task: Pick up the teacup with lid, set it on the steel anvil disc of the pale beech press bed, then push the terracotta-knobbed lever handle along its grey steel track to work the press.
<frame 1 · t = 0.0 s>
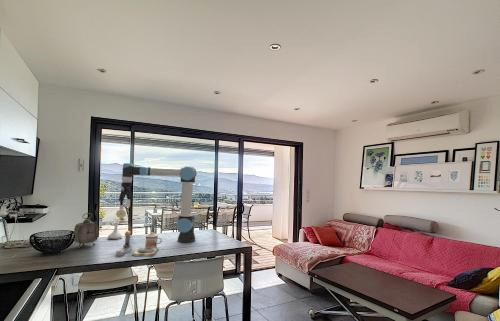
hand: (124, 208, 213), 28 cm above the table, fingers open, 13 cm apart
tabletop clock: (84, 246, 197), on the table
lever track: (124, 252, 186), on the table
teacup with lid: (153, 247, 203), on the table
lever handle: (127, 238, 192), point 9 cm above the table, slide at 0.0 cm
flower in vase: (116, 238, 225), on the table
press bed: (145, 253, 188), on the table
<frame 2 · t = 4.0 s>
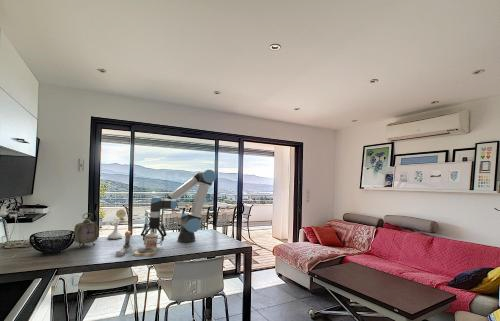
hand: (153, 245, 203), 2 cm above the table, fingers closed on teacup with lid, 12 cm apart
teacup with lid: (153, 247, 203), on the table, touching gripper
everything else where it was.
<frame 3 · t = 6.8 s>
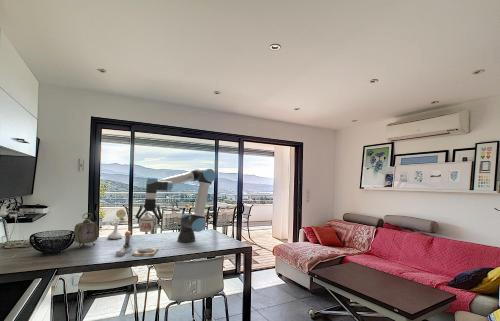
hand: (148, 228, 192), 17 cm above the table, fingers closed on teacup with lid, 12 cm apart
teacup with lid: (148, 231, 192), point 15 cm above the table, touching gripper
everything else where it was.
when the fingers open (4 cm above the table, at t = 9.9 s): teacup with lid stays where it is, resting on press bed.
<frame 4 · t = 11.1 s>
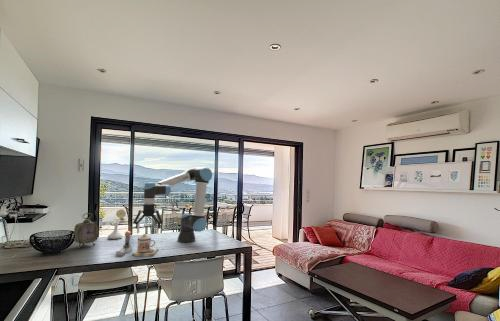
hand: (147, 233, 189), 14 cm above the table, fingers open, 13 cm apart
teacup with lid: (145, 250, 188), point 2 cm above the table, touching press bed
everything else where it was.
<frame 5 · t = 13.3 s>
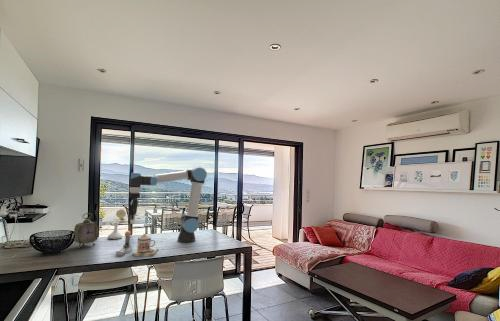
hand: (132, 223, 201), 18 cm above the table, fingers closed
nothing on the table moved.
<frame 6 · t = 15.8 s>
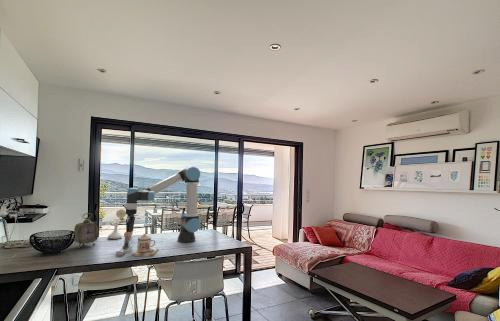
hand: (129, 240, 195), 7 cm above the table, fingers closed
lever handle: (126, 239, 190), point 9 cm above the table, slide at 1.5 cm, touching gripper
everything else where it was.
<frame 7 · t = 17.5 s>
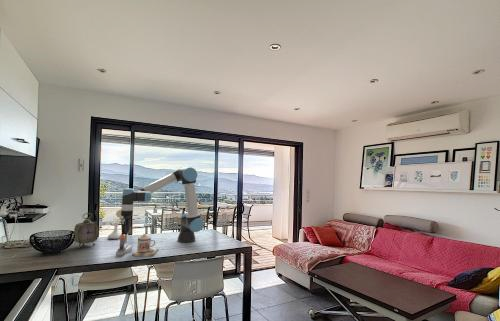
hand: (124, 243, 187), 7 cm above the table, fingers closed
lever handle: (122, 242, 182), point 9 cm above the table, slide at 10.1 cm, touching gripper
everything else where it was.
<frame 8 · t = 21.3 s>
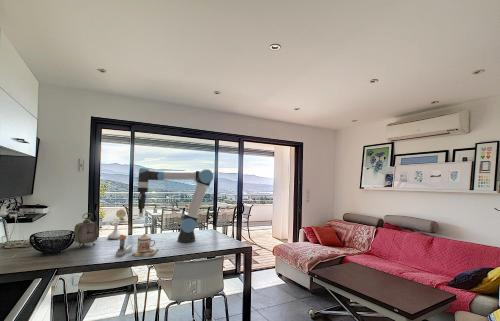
hand: (140, 217, 207), 22 cm above the table, fingers closed
lever handle: (122, 242, 182), point 9 cm above the table, slide at 10.0 cm
everything else where it was.
at the end: teacup with lid inside the target area on the press bed (0.1 cm from its centre), point 1.6 cm above the press bed's base; teacup with lid tilted 0°; lever handle slide at 10.0 cm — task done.
